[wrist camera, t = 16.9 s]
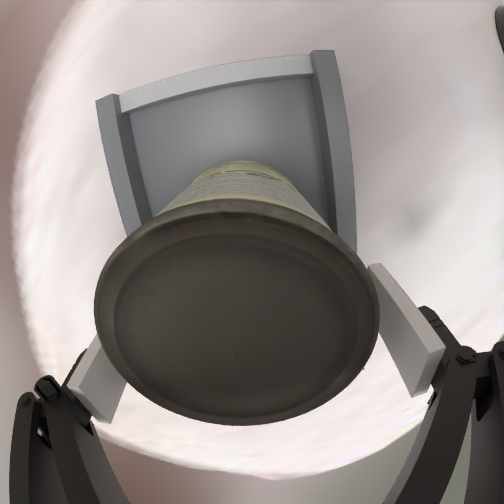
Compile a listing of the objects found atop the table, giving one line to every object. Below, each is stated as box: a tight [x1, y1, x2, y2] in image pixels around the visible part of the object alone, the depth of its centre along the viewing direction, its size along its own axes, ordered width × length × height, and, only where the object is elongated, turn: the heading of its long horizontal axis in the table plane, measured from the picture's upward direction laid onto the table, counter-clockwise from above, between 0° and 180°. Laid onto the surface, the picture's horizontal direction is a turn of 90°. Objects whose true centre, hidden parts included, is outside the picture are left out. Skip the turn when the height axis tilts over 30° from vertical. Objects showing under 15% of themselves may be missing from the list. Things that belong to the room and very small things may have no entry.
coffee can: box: [94, 160, 380, 426], centre depth 15 cm, size 10×10×14 cm
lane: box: [95, 50, 364, 370], centre depth 19 cm, size 25×17×7 cm
